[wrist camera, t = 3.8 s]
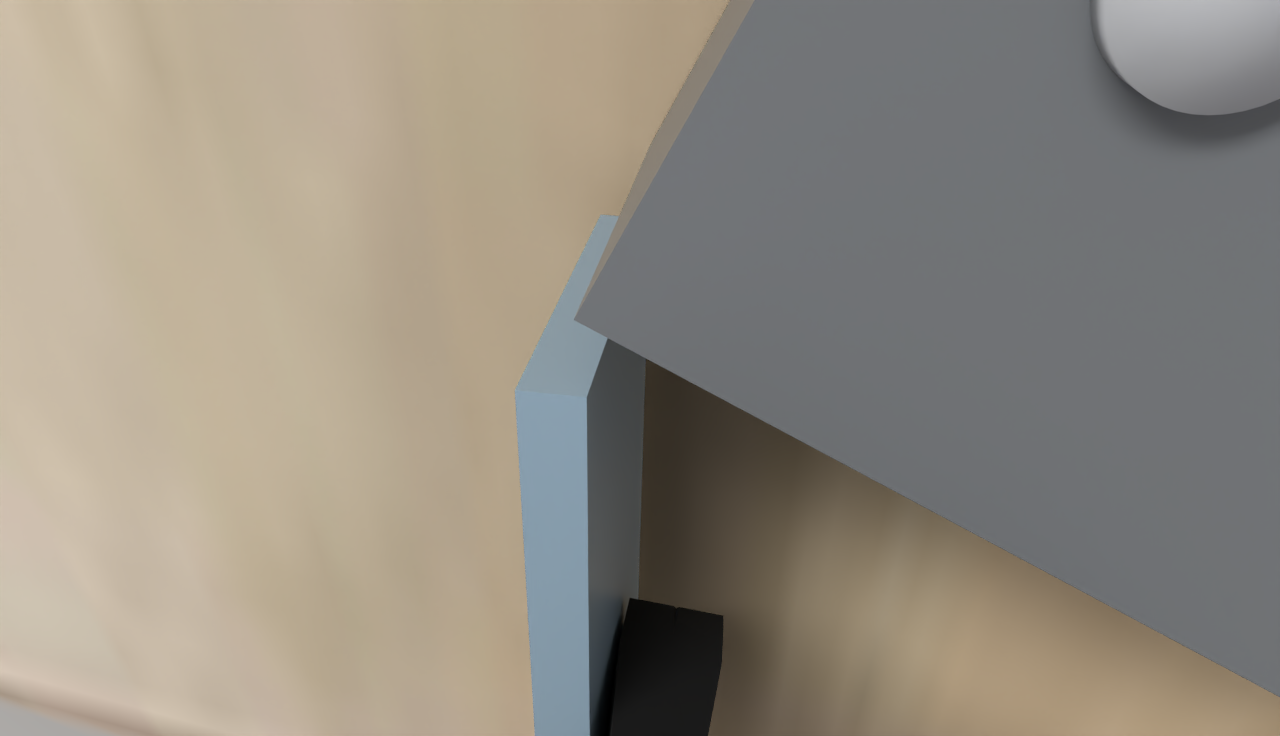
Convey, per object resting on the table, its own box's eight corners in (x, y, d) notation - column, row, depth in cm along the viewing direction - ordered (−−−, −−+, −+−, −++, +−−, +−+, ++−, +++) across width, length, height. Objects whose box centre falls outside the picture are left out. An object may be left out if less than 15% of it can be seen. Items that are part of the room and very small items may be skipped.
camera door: (634, 719, 15) (591, 970, 12) (566, 710, 16) (505, 955, 12) (650, 218, 11) (586, 396, 7) (551, 211, 11) (445, 383, 7)
